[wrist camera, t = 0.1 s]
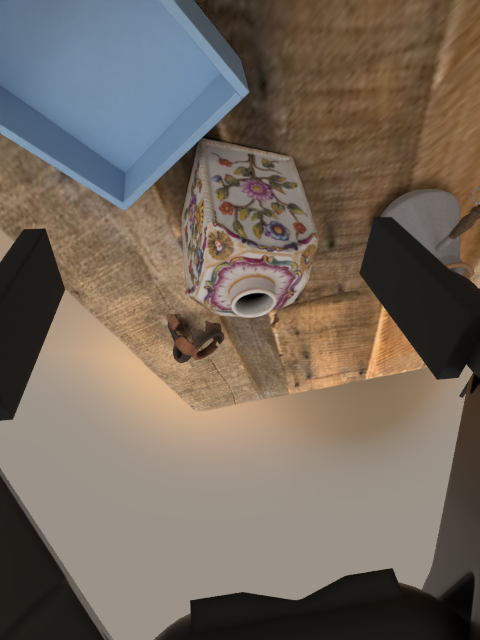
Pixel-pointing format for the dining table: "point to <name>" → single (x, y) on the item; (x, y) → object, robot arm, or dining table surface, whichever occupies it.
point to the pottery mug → (194, 341)
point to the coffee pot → (435, 224)
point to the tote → (113, 86)
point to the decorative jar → (245, 230)
